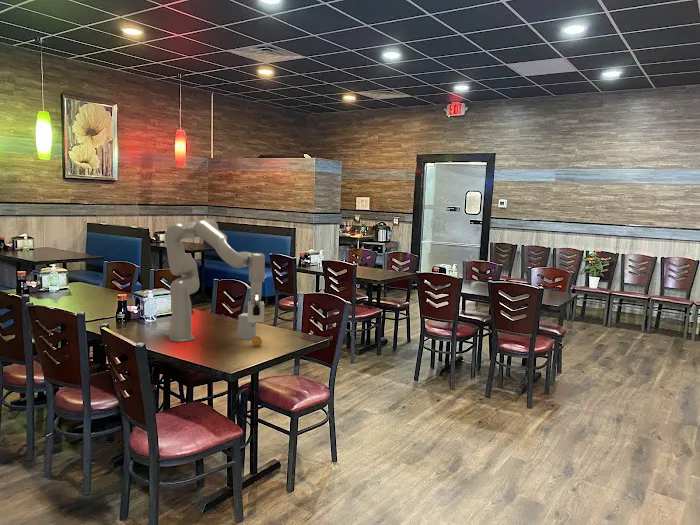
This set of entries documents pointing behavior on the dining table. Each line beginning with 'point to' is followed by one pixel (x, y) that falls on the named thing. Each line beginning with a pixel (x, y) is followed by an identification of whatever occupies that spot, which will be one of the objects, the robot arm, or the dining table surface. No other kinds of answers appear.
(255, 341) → the ball
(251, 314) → the gray block
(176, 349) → the dining table surface
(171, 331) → the robot arm
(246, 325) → the supplement box
